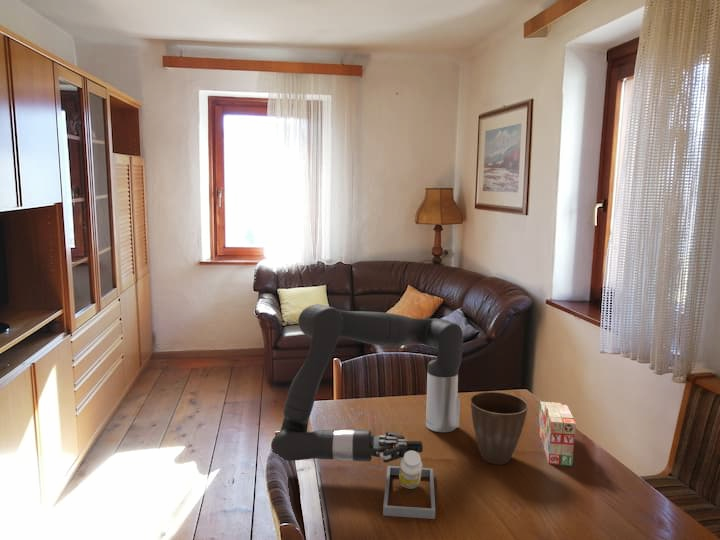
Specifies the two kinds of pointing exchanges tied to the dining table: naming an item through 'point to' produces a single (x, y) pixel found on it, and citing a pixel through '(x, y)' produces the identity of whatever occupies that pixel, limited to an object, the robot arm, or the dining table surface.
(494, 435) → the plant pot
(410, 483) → the supplement bottle
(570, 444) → the stack of blocks
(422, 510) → the frame
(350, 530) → the dining table surface
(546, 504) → the dining table surface
